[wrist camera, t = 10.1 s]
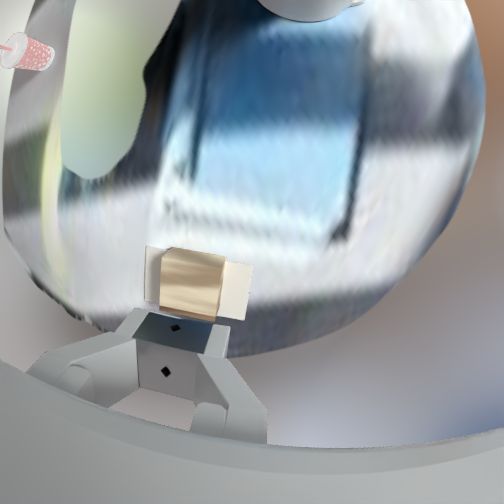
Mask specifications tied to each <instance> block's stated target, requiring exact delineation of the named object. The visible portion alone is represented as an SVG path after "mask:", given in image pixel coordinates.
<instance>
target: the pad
mask: <svg viewBox="0 0 504 504" xmlns="http://www.w3.org/2000/svg"><path fill="white" fill-rule="evenodd" d="M168 251H169V250H165V249H160V248H154V247H149V246H147V247H146V267H145V301H150V302H154V303H159V304H160V280H161V261H162V257H163V256H164V255H165V254H166V253H167V252H168ZM253 268H254V265H249V264H244V263H238V262H232V261H227V260H226V263H225V270H224V278H223V285H222V292H221V300H220V307H219V310H218V313H217V316H222V317H228V318H233V319H239V320H244V319H245V313H246V307H247V302H248V296H249V290H250V285H251V279H252V273H253Z"/></svg>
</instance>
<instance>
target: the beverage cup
mask: <svg viewBox="0 0 504 504" xmlns="http://www.w3.org/2000/svg"><path fill="white" fill-rule="evenodd" d="M0 49H3V50H2V53H1V57H0V62H1V65H2V67H3V68H9V69H10V68H22V69H30V70H37V71H43V70H46V69H47V68H48V67H49V66H50V65H51V63H52V61H53V59H54V55H55V53H54V49H53V48H52V47H50V46H47V45H45V44H43V43H41V42H39V41H37V40H34V39H32V38H30V37H28V36H27V35H26V34H24V33H21V32H18V33H16V34H14V35H13V36H11V37H10V38H9V40H8V41H7V42H6V44H5V46H0Z"/></svg>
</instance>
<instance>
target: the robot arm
mask: <svg viewBox="0 0 504 504" xmlns="http://www.w3.org/2000/svg"><path fill="white" fill-rule="evenodd" d="M258 1H259V2H260V3H261V4H262V5H263V6H264V7H265V8H267V9H268V10H270V11H271V12H273V13H275V14H277V15H279V16H282V17H285V18H288V19H292V20H296V21H306V22H313V21H322V20H326V19H329V18H332V17H334V16H336V15H338V14H340V13H341V12H342V11H344V10H345V9H346V8H348V7H350V6H355V5H360V4H363V3H364V2H365V1H366V0H258ZM229 335H230V327H229V326H222V325H215V324H214V325H213V324H209V323H203V322H197V321H192V320H186V319H182V318H179V317H174V316H170V315H166V314H162V313H158V312H154V311H150V310H146V309H141V308H134V309H133V310H132V312H131V313H130V314H129V315H128V317H127V318H126V319H125V320H124V321H123V323H122V324H121V325H120V326H119V328H118V329H117V330H116V331H115V332H114V333H113V332H107V333H104V334H101V335H98V336H95V337H92V338H89V339H85V340H82V341H79V342H76V343H72V344H69V345H66V346H63V347H59V348H56V349H53V350H50V351H46V352H45V353H44V354H43V355H42V356H41V357H40V358H39V359H38V360H37V361H36V362H35V363H34V364H33V365H32V366H31V367H30V368H29V369H28V371H26V373H25V372H23V371H21V370H19V369H17V368H15V367H13V366H11V365H10V364H8V363H6V362H4V361H2V360H1V359H0V504H504V427H502V428H499V429H495V430H491V431H487V432H483V433H479V434H474V435H469V436H464V437H459V438H454V439H448V440H442V441H435V442H429V443H420V444H412V445H402V446H389V447H372V448H309V447H292V446H278V445H269V444H267V417H268V411H267V410H266V409H265V408H264V406H263V405H262V404H261V403H260V401H259V400H258V399H257V397H256V396H255V395H254V394H253V392H252V391H251V390H250V388H249V387H248V385H247V384H246V383H245V382H244V380H243V379H242V378H241V376H240V375H239V373H238V372H237V371H236V369H235V368H234V367H233V365H232V364H231V362H230V361H229V360H228V359H226V354H227V348H228V341H229ZM139 387H140V388H144V389H148V390H152V391H156V392H161V393H165V394H169V395H172V396H176V397H180V398H184V399H188V400H192V401H194V404H195V406H196V411H195V414H194V417H193V420H192V424H191V427H190V430H189V431H185V430H181V429H177V428H172V427H169V426H165V425H161V424H157V423H153V422H150V421H146V420H143V419H139V418H136V417H132V416H130V415H126V414H123V413H120V412H117V411H114V410H111V409H108V408H109V407H110V406H112V405H113V404H115V403H117V402H118V401H120V400H122V399H123V398H125V397H126V396H128V395H130V394H131V393H133V392H135V391H136V390H138V389H139Z"/></svg>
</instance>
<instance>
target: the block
mask: <svg viewBox="0 0 504 504" xmlns="http://www.w3.org/2000/svg"><path fill="white" fill-rule="evenodd" d="M225 263H226V257H225V256H219V255H213V254H208V253H202V252H196V251H191V250H185V249H180V248H174V247H172V248H171V249H170V250H169V251H168V252H167V253H166V254H165V255H164V256H163V257H162V261H161V280H160V307H159V310H161V311H165V312H170V313H175V314H179V315H184V316H189V317H194V318H199V319H204V320H209V321H214V322H215V319H216V316H217V313H218V310H219V307H220V300H221V292H222V285H223V278H224V270H225Z"/></svg>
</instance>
